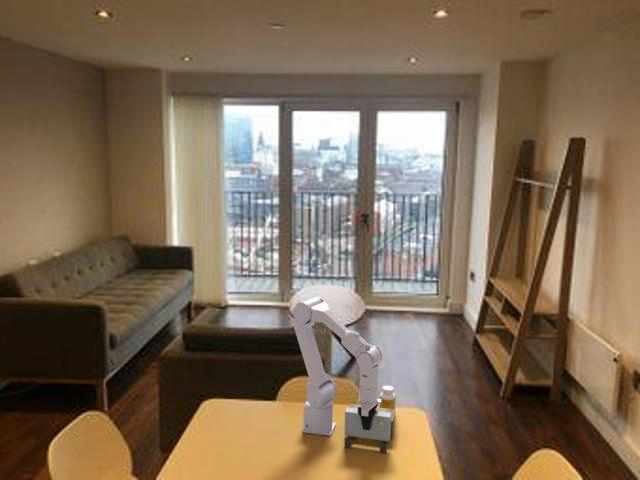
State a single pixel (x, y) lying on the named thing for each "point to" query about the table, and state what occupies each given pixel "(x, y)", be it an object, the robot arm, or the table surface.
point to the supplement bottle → (387, 397)
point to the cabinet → (384, 443)
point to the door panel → (378, 426)
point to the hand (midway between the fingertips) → (367, 426)
